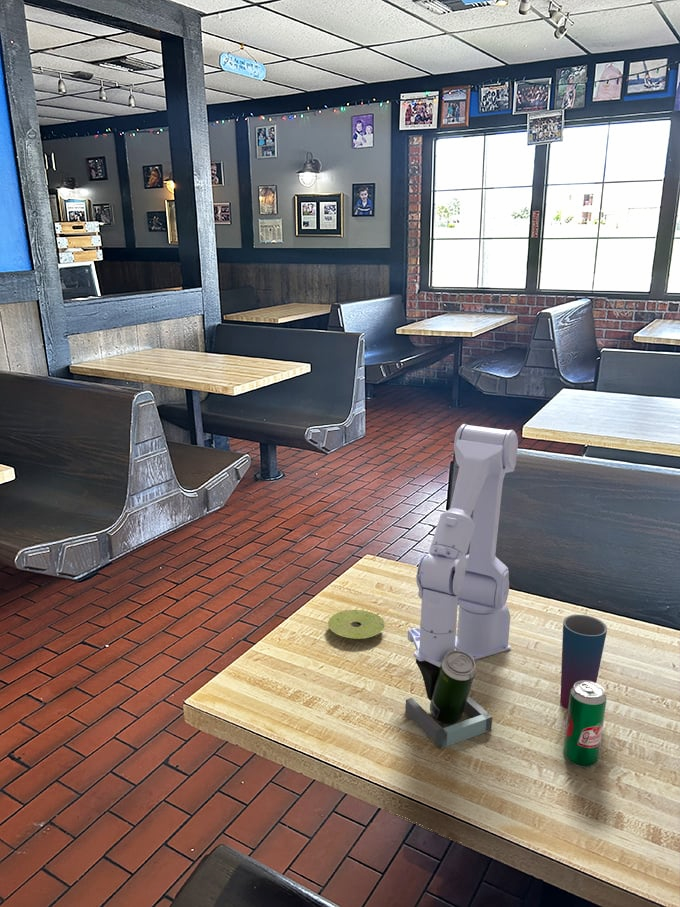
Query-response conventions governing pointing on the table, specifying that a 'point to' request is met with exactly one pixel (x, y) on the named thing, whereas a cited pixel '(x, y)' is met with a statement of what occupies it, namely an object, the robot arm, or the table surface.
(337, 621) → the green disc with hole
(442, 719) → the beer can
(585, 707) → the soda can
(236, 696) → the table surface
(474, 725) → the dock
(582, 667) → the cup
